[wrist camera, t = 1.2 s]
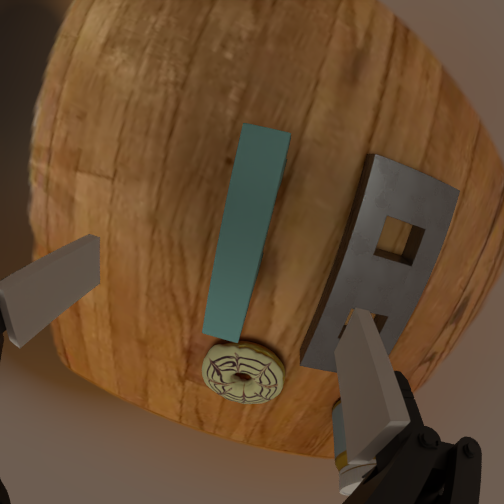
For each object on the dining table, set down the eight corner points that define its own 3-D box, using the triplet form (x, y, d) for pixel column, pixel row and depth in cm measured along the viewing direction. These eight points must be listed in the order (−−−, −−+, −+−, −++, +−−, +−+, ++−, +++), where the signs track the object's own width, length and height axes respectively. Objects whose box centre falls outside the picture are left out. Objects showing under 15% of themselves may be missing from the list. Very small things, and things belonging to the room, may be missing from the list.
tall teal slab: (260, 134, 25) (243, 122, 16) (291, 141, 25) (290, 133, 16) (228, 280, 31) (202, 332, 22) (254, 287, 31) (237, 343, 21)
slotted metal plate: (366, 153, 24) (375, 153, 21) (445, 186, 24) (459, 190, 21) (299, 349, 33) (299, 365, 30) (369, 362, 32) (373, 378, 30)
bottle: (384, 398, 34) (402, 478, 20) (354, 421, 37) (362, 497, 23) (353, 385, 34) (366, 475, 20) (322, 410, 37) (324, 494, 23)
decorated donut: (201, 331, 34) (192, 349, 31) (286, 335, 33) (285, 355, 29) (212, 385, 38) (205, 404, 34) (284, 391, 36) (282, 410, 33)
